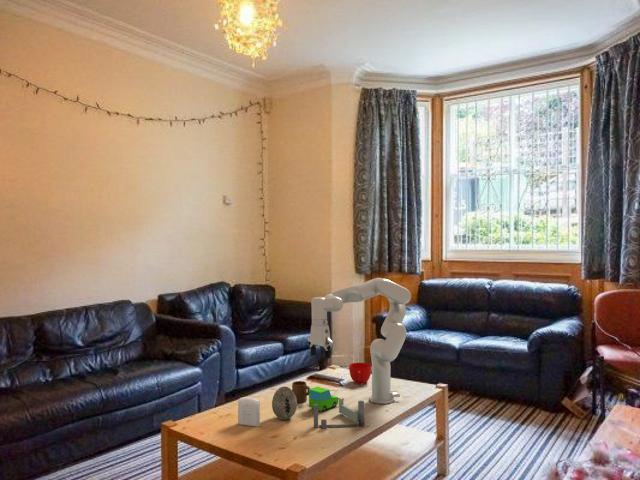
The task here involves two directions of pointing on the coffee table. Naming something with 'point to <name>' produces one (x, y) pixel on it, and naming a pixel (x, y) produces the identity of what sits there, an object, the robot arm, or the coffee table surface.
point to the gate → (347, 410)
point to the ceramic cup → (360, 372)
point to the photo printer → (249, 411)
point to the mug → (300, 391)
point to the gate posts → (324, 424)
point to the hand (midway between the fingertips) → (320, 356)
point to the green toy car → (322, 398)
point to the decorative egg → (284, 403)
